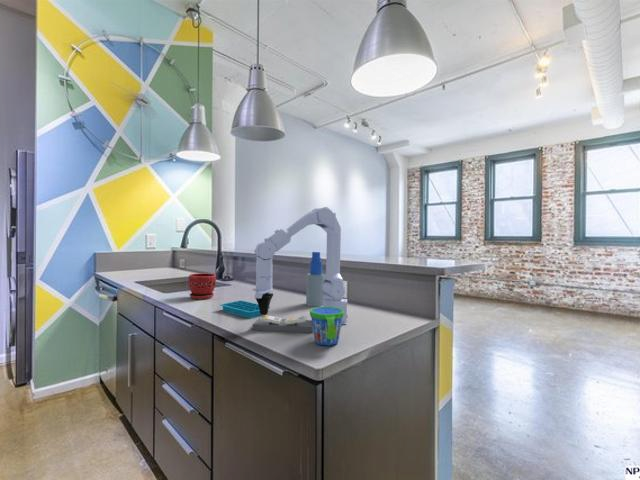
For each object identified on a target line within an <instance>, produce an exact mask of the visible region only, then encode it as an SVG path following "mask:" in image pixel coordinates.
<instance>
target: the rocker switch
mask: <svg viewBox="0 0 640 480" xmlns="http://www.w3.org/2000/svg"><path fill="white" fill-rule="evenodd" d="M286 319H287V320H286V321H285V325H286V324H292V323H299V322H305V321H306V320H308V319H307V315H304V316H298V317H291V318H286Z"/></svg>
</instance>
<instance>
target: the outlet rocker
mask: <svg viewBox="0 0 640 480" xmlns="http://www.w3.org/2000/svg"><path fill="white" fill-rule="evenodd" d="M259 318H260V320H264V321H268V322H272V323H276V324H279V323H280V322H281V320H282V319H283V318H282V317H276V316H272V315H268V314H267V315H261V316H259Z"/></svg>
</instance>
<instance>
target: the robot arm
mask: <svg viewBox="0 0 640 480" xmlns="http://www.w3.org/2000/svg"><path fill="white" fill-rule="evenodd" d="M311 225H316V226H318V227H320V228H321V229H322V230H323V231H325V233H326V253H325V254H326V256H325V257H326V259H325V262H326V263H325V265H326V266H325V273H324V274H325V276H324V280H323V283H322V285H321V290H322V292H323V293H324V302H323V306H322V307H336V308H340V309H342V310H343V311H344V315H343V317H342V323H341V325H347V323H348V322H347V321H348V318H349V314H348V299H347V298H344V296H345V294H346V288H345V285H344V278H343V277H342V275H341V245H342V244H341V240H342V239H341V235H342V233H341V232H342V231H341V229H342V227H341V225H340V223H339V221H338V219H337V213H336V212H335V211H334V210H333V209H331V208H330V207H327V206H324V207H320V208H314V209H312V210H311V211H309V212H307V213H305V214H304V215H302V216H300V218H298V219H297V220H296V221H295V222H294V223H292V224H291V225H289V226H288V227H287V228H286V229H284V228H280V229H276V230H274V233H273V234H272V235H270V236H269V237H268V238H267V237H265V238H264V240H263V241H264V242H263V241H262V242H259V243H257V245H256V246H255V249H254V254H255V256H256V264H255V267H256V268H255V287H253V288H252V291H254V292H255V293H254V299H255V300H256V304H258V305H259V310H260V314H261V316H262V315H268V313H269V310H270V308H269V307H270V304H271V301H272V298H273V296H274V293H271V292H273V291H274V288H273V258H274V257H275V254H276V252H278V251H280V250H281V249H283V248H284V247H285V246H286V245H288V244H289V243H290V242H291V239H292V236H294V235H296V234H298V233H299V232H300V231H302V230H303V229H305V228H307V227H308V226H311Z"/></svg>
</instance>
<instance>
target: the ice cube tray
mask: <svg viewBox="0 0 640 480" xmlns="http://www.w3.org/2000/svg"><path fill="white" fill-rule="evenodd" d="M219 306H220V307H222V311H223V312H225V313H227V314H233V315H236V316H240V317H244V318H246V319H247V318H248V319H253V318H256V317H261V316H262V315H261V314H260V310H259V305H258V303H257V302H252V301H251V302H250V301H247V300H246V301H245V300H235V301H231V302H227V303H222V304H221V303H220V304H219ZM270 308H271V306H269V309H270Z"/></svg>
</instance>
